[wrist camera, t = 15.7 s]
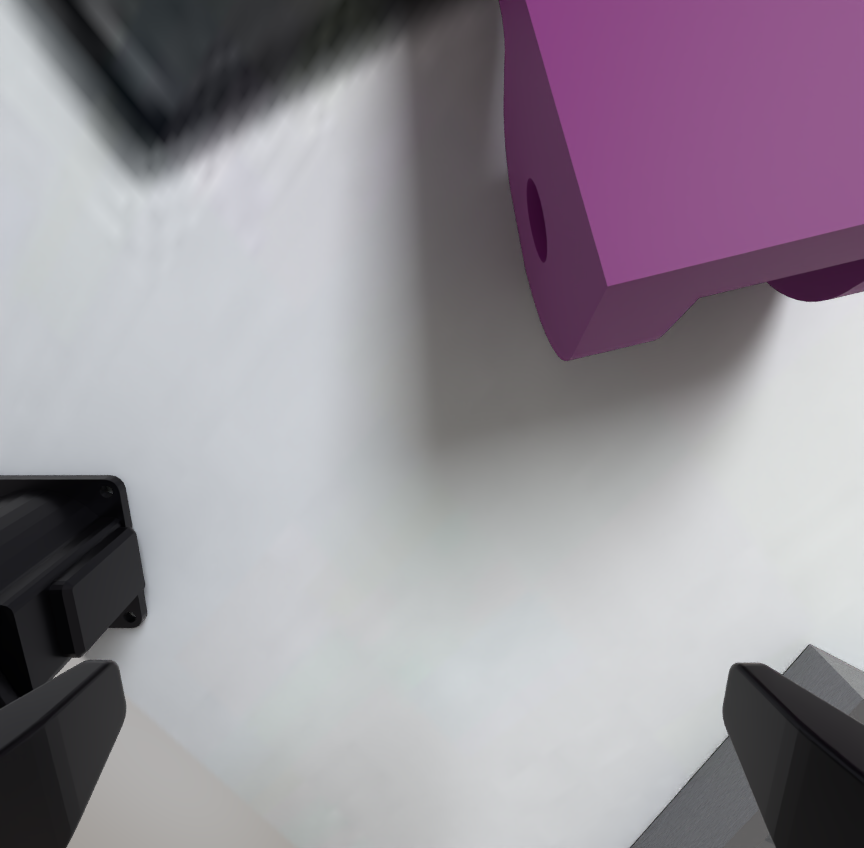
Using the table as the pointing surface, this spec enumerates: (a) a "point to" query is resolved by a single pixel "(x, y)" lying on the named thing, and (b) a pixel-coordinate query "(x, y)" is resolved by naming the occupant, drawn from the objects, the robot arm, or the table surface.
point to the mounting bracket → (681, 157)
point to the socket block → (726, 782)
